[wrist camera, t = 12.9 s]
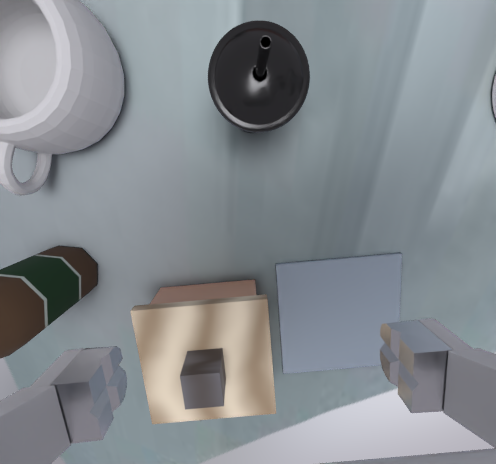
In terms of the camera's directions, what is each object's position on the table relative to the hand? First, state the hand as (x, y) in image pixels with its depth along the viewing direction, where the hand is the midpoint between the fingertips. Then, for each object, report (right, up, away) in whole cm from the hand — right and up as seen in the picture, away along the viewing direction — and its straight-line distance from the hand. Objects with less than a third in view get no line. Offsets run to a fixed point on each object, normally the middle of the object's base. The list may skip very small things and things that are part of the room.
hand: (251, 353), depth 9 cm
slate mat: (+13, -8, +32) cm, 35 cm away
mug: (-23, +19, +25) cm, 39 cm away
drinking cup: (0, +18, +26) cm, 32 cm away
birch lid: (-5, -11, +25) cm, 28 cm away
